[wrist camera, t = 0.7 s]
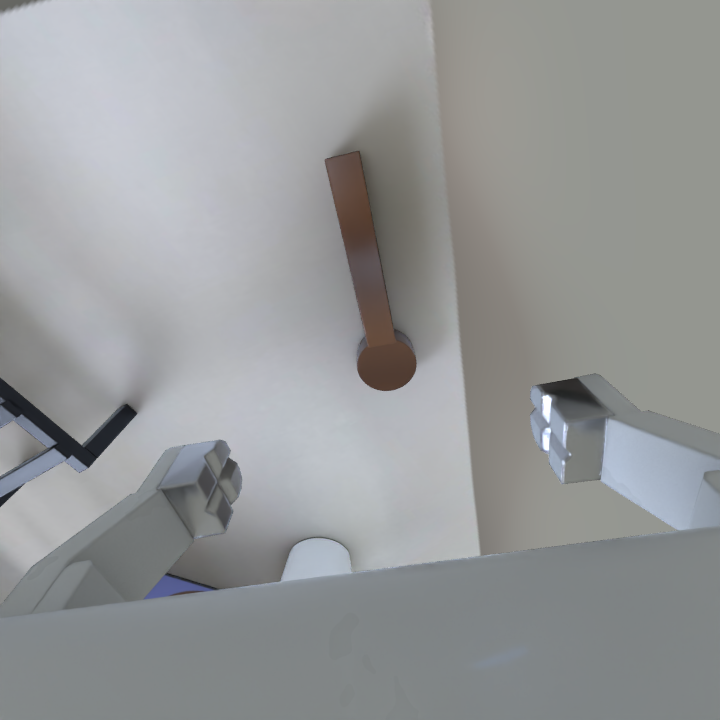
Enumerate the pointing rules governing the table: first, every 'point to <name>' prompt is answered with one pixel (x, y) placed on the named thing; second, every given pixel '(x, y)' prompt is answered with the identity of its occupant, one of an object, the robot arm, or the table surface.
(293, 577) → the cup
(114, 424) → the rack
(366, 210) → the plank on round base
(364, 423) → the table surface
